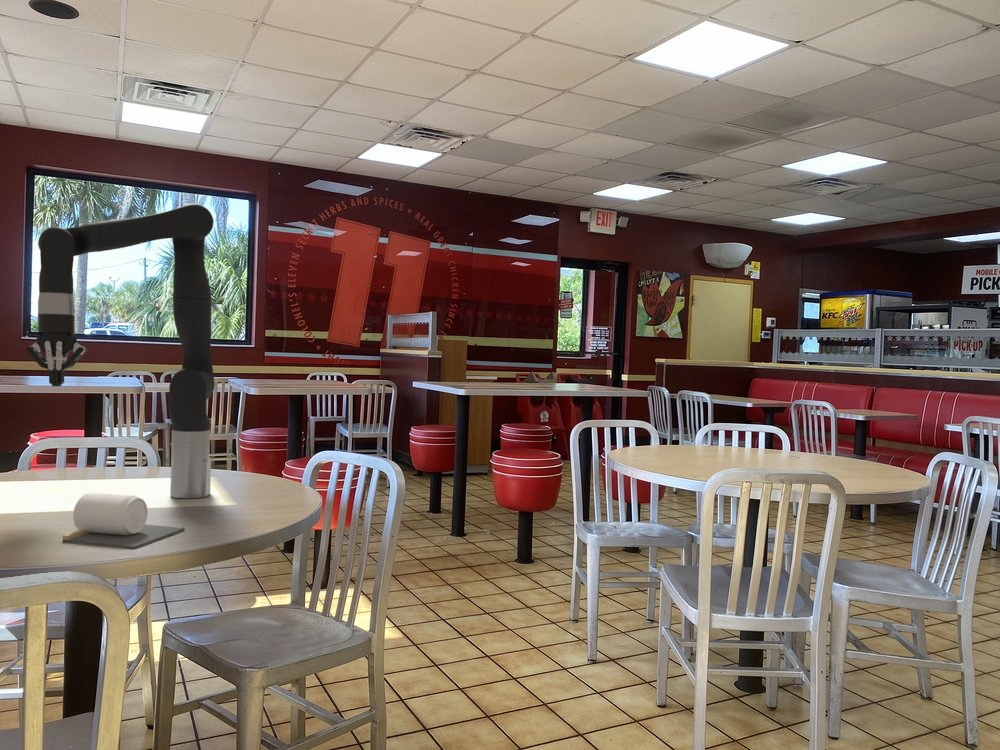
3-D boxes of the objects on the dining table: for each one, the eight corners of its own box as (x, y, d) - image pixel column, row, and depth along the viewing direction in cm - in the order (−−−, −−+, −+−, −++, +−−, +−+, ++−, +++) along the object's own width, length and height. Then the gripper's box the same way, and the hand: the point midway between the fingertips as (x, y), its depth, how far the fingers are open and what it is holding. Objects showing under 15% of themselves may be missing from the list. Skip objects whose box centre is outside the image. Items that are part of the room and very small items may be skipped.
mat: (62, 541, 150) (62, 535, 150) (118, 524, 166) (118, 518, 166) (134, 548, 147) (134, 542, 147) (184, 530, 163) (184, 524, 163)
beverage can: (93, 484, 160) (143, 488, 157) (103, 517, 163) (153, 520, 161) (65, 506, 153) (118, 510, 150) (77, 539, 156) (128, 544, 153)
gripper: (18, 311, 176) (19, 386, 176) (81, 312, 178) (81, 387, 179) (32, 313, 183) (32, 385, 183) (92, 314, 185) (92, 385, 186)
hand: (56, 386), depth 181 cm, fingers closed
